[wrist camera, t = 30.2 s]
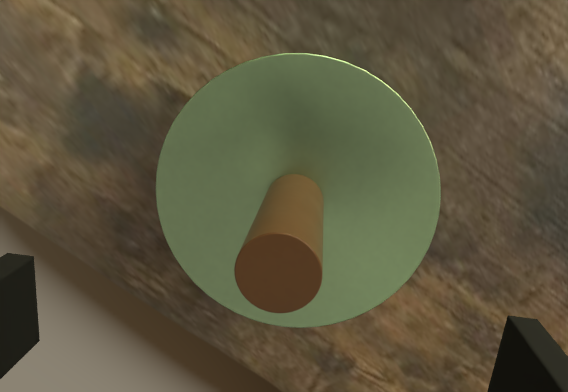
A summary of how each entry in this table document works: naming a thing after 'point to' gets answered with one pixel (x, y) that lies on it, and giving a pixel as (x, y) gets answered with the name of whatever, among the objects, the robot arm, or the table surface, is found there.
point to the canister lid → (298, 190)
